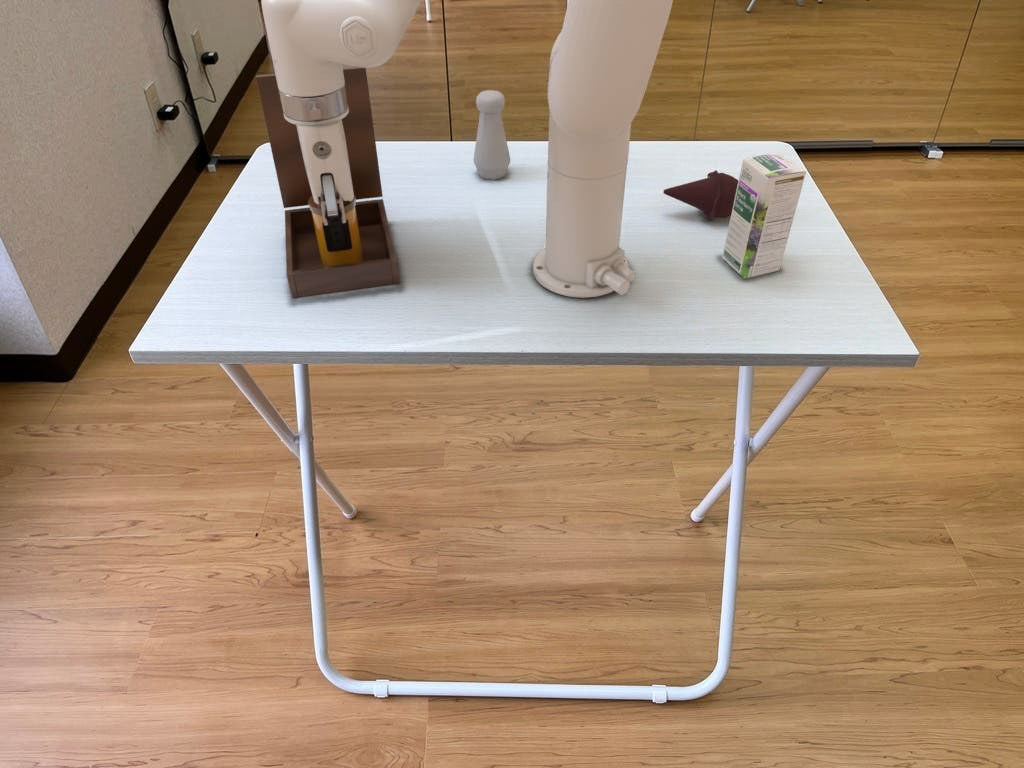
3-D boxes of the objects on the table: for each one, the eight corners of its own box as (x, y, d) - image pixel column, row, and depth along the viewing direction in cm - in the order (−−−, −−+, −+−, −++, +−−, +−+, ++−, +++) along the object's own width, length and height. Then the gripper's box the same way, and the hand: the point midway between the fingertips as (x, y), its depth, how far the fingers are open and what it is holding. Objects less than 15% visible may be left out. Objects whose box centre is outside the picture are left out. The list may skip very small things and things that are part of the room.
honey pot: (366, 267, 103) (355, 198, 96) (321, 273, 102) (307, 203, 95) (362, 244, 107) (352, 177, 100) (319, 250, 106) (305, 182, 99)
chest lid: (365, 67, 99) (365, 65, 99) (255, 77, 96) (255, 75, 97) (382, 196, 109) (382, 194, 110) (283, 208, 107) (283, 206, 107)
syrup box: (719, 258, 105) (740, 157, 96) (756, 249, 107) (780, 150, 97) (743, 280, 101) (767, 177, 92) (781, 271, 103) (808, 169, 93)
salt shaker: (506, 183, 122) (505, 102, 113) (470, 180, 123) (466, 99, 114) (513, 167, 126) (512, 87, 118) (479, 164, 127) (476, 84, 119)
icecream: (671, 190, 107) (778, 199, 107) (667, 154, 111) (770, 163, 111) (659, 227, 112) (761, 235, 113) (656, 191, 116) (754, 199, 117)
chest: (400, 288, 100) (396, 260, 98) (293, 303, 98) (286, 274, 95) (386, 225, 112) (382, 198, 110) (290, 237, 110) (284, 210, 107)
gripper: (352, 127, 85) (373, 268, 97) (342, 72, 97) (361, 203, 109) (282, 134, 83) (312, 276, 95) (280, 77, 96) (307, 209, 108)
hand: (338, 235), depth 102 cm, fingers closed on honey pot, 5 cm apart
